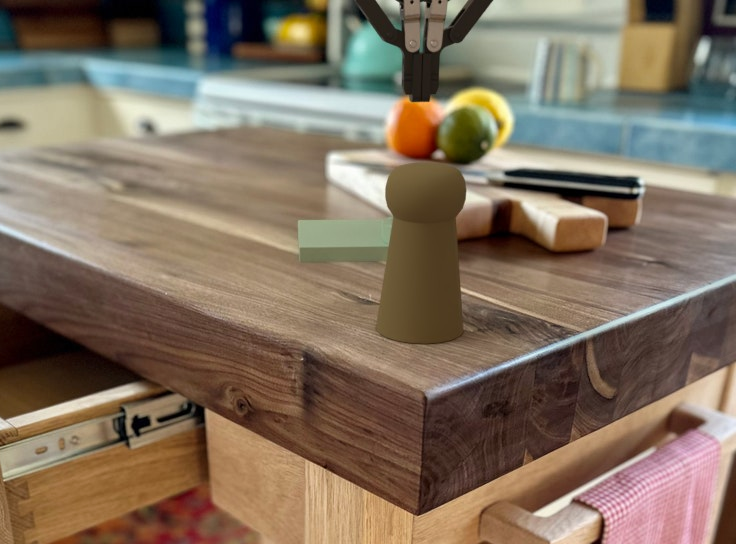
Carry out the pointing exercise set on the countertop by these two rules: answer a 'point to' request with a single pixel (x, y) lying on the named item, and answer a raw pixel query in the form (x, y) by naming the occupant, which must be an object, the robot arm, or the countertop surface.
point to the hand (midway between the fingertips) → (419, 100)
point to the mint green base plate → (344, 240)
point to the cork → (422, 255)
